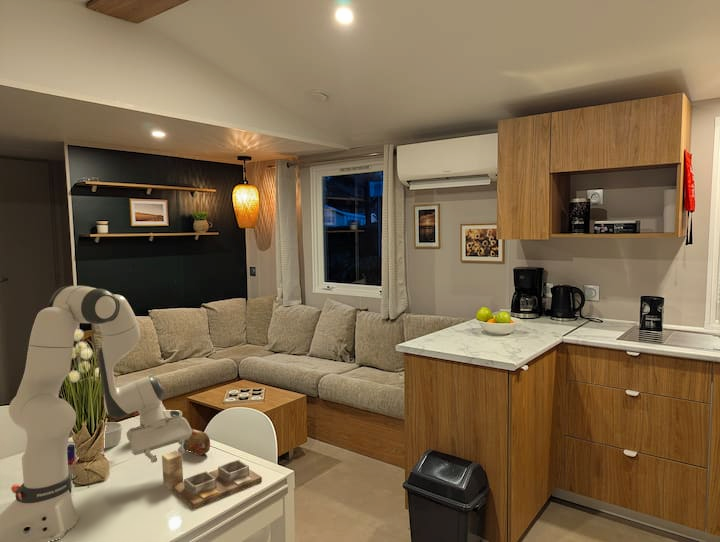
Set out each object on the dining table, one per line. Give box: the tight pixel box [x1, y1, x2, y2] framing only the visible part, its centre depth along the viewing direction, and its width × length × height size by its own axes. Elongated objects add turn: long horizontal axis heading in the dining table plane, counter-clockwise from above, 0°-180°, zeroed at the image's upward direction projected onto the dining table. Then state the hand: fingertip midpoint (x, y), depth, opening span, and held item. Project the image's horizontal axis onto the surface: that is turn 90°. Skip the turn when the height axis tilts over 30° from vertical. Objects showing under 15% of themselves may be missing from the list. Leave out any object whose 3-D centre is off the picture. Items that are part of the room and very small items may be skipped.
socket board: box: [171, 459, 263, 509], centre depth 168 cm, size 24×16×4 cm, turn 133°
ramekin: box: [104, 421, 123, 450], centre depth 205 cm, size 13×13×7 cm
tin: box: [183, 428, 211, 456], centre depth 195 cm, size 15×3×8 cm, turn 55°
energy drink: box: [67, 440, 78, 481], centre depth 176 cm, size 5×5×12 cm
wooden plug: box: [161, 450, 184, 490], centre depth 170 cm, size 5×5×10 cm
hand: (168, 457), depth 172 cm, fingers open, 8 cm apart
